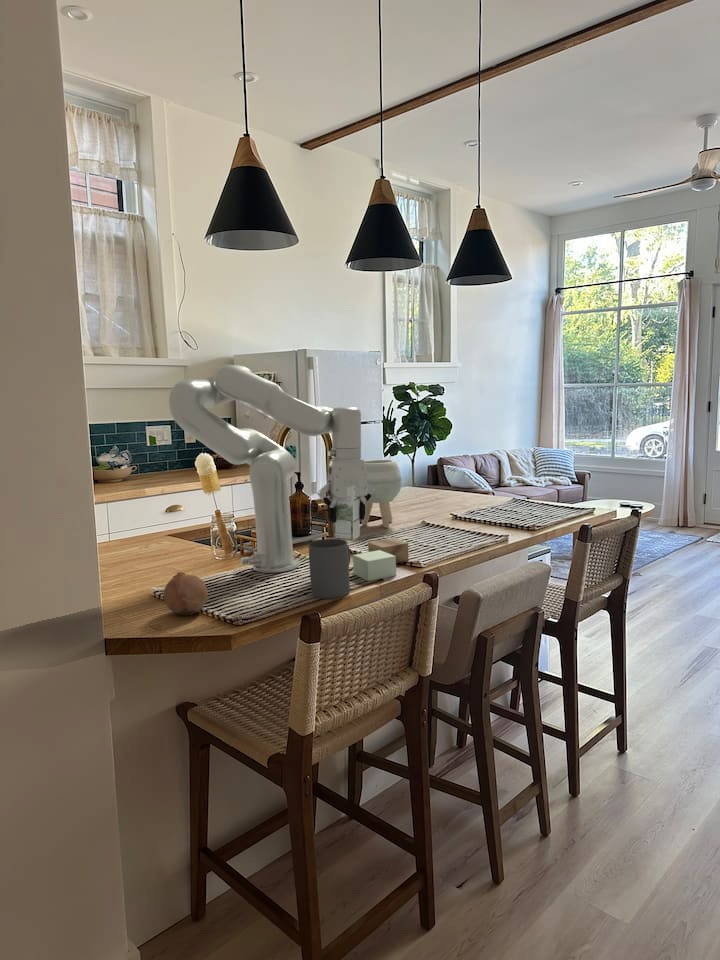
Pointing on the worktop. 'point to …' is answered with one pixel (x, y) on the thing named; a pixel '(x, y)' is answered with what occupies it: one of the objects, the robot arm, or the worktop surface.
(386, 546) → the walnut block
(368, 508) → the planter
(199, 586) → the onion
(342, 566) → the mug
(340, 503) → the syrup box
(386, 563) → the sage block
